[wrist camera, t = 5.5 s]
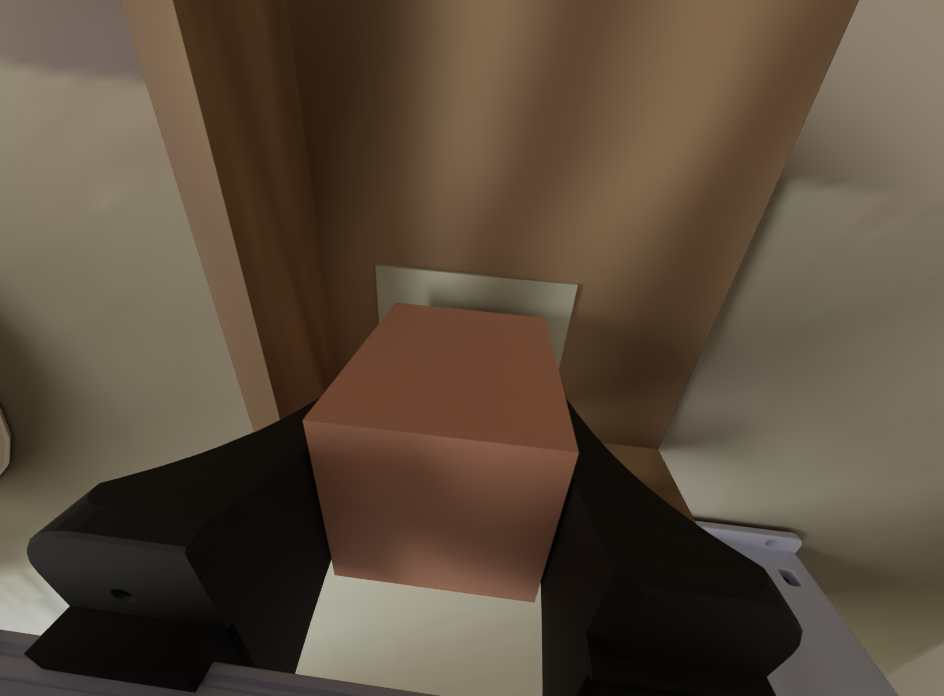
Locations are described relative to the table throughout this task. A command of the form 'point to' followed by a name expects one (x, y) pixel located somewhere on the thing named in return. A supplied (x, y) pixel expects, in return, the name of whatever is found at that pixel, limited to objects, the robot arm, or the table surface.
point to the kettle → (4, 443)
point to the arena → (482, 176)
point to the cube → (445, 452)
